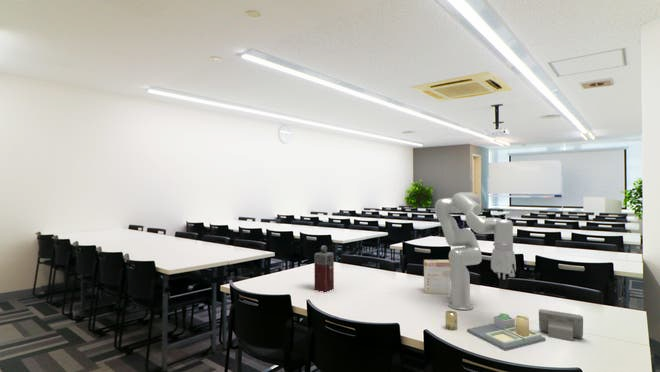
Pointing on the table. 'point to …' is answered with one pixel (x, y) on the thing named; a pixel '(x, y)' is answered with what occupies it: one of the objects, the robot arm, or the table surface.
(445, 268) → the coffeecake box
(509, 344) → the station
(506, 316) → the button
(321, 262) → the square decanter bottle
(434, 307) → the table surface
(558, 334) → the digital clock
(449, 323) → the cylinder
